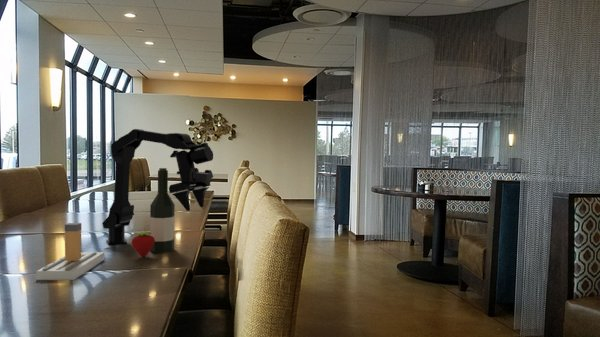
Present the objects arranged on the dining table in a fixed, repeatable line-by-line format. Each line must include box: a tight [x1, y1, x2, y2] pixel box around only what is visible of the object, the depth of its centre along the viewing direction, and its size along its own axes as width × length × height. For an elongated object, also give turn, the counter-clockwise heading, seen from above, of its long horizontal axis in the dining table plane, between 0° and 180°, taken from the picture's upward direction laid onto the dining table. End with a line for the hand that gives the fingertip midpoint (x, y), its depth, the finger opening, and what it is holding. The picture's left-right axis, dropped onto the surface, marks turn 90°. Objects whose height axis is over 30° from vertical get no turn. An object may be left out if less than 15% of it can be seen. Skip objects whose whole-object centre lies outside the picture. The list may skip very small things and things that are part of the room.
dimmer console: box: [36, 251, 105, 281], centre depth 119 cm, size 20×10×3 cm, turn 5°
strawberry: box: [131, 228, 155, 258], centre depth 134 cm, size 6×8×10 cm
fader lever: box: [64, 222, 82, 261], centre depth 119 cm, size 3×4×11 cm
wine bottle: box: [149, 167, 176, 254], centre depth 143 cm, size 8×8×30 cm
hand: (195, 208), depth 143 cm, fingers open, 9 cm apart
